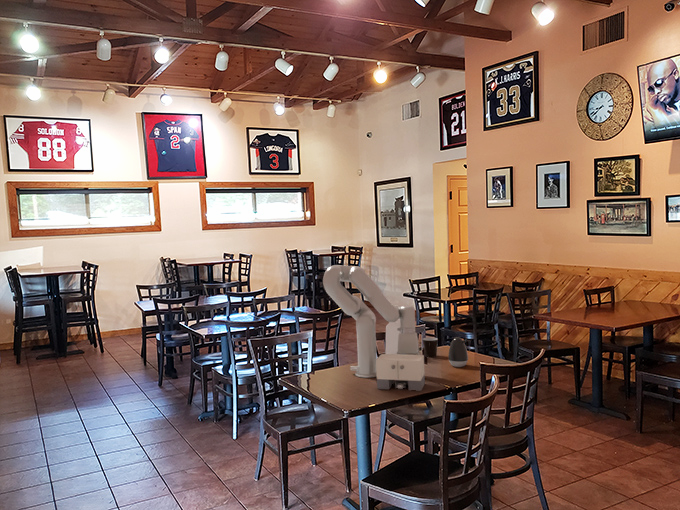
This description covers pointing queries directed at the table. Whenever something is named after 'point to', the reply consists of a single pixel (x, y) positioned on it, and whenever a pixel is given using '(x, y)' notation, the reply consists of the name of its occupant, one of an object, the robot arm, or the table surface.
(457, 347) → the pump dispenser
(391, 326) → the milk
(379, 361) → the cabinet
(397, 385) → the steel puck
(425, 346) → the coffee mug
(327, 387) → the table surface
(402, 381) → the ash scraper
